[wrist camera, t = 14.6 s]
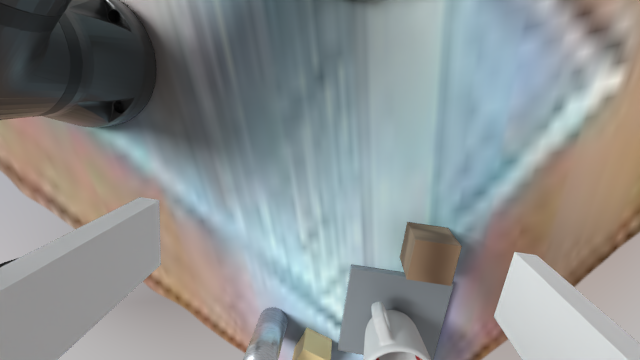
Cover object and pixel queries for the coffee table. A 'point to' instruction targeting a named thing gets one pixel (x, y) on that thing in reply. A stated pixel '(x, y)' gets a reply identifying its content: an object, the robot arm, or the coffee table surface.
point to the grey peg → (267, 336)
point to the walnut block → (429, 254)
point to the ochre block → (313, 347)
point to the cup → (392, 336)
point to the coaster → (391, 305)
